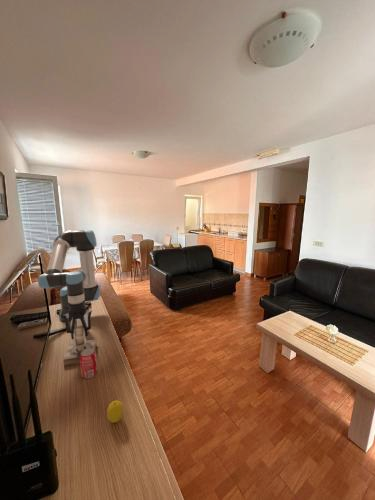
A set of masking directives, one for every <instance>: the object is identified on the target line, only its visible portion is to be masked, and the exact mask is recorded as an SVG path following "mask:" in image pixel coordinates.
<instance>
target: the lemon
mask: <svg viewBox="0 0 375 500" xmlns="http://www.w3.org/2000/svg"><path fill="white" fill-rule="evenodd" d="M123 413H124V407H123V404H122V402H121V401H119V400H117V399H116V400H112V402H110V403H109V405H108V406H107V410H106V415H107V416H106V417H107V419H108V421H109V422H110V423H112V424H113V423H117V422H119V421H121V419H122V417H123V415H124V414H123Z"/></svg>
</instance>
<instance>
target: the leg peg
mask: <svg viewBox="0 0 375 500" xmlns="http://www.w3.org/2000/svg"><path fill="white" fill-rule="evenodd" d="M74 331H75V336H76V345H77V350H78V352H80V351H83V350H84V349H85V348H84V337H83V331H84V330H83V325H77V324H76V325H75V330H74Z"/></svg>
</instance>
